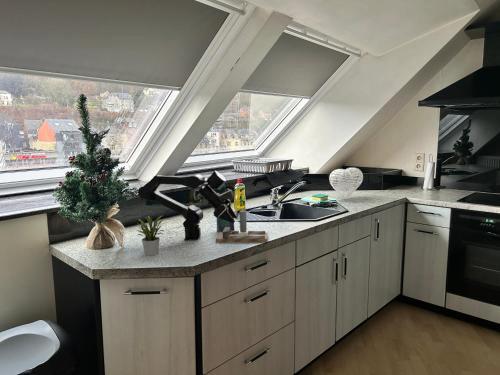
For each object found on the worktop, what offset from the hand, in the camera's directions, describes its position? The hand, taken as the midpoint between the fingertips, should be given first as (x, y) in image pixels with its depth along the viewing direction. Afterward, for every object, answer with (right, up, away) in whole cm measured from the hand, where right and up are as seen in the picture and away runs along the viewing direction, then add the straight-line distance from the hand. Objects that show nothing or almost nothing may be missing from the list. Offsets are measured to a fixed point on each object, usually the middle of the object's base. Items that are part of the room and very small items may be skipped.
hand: (235, 220), depth 177 cm
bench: (+3, -9, +1) cm, 9 cm away
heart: (+75, +6, +97) cm, 123 cm away
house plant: (-33, -12, -18) cm, 39 cm away
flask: (-5, -7, +15) cm, 18 cm away
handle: (+4, -7, +1) cm, 8 cm away
